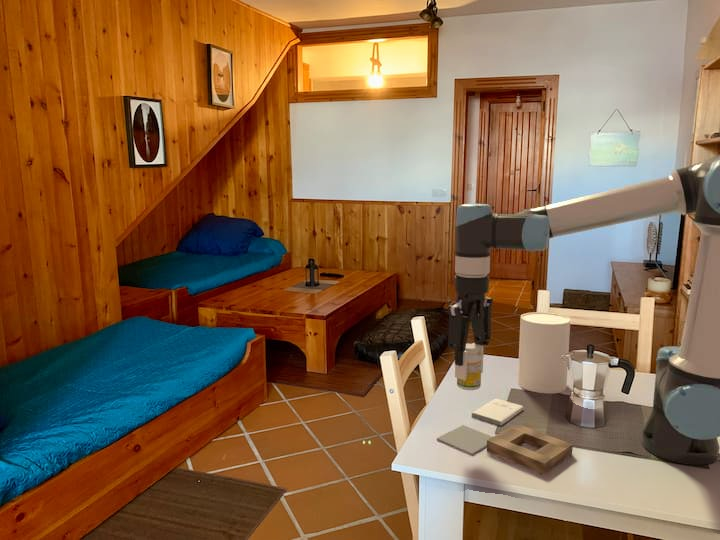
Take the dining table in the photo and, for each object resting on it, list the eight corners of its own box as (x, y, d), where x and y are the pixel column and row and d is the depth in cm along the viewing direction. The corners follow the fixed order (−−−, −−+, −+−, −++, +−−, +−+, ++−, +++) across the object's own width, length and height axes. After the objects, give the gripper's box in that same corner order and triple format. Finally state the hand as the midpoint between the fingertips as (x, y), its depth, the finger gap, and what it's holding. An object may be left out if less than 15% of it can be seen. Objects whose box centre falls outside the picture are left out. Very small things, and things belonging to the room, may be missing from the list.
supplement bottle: (481, 391, 126) (483, 350, 124) (457, 390, 126) (458, 349, 125) (479, 382, 131) (480, 342, 130) (455, 381, 132) (456, 342, 130)
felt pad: (498, 440, 131) (498, 438, 131) (472, 455, 124) (472, 453, 124) (462, 426, 138) (463, 425, 138) (436, 439, 131) (436, 438, 131)
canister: (573, 393, 158) (577, 324, 155) (524, 393, 158) (527, 324, 155) (557, 376, 171) (561, 312, 168) (512, 376, 172) (515, 312, 168)
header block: (572, 454, 124) (572, 444, 124) (543, 474, 116) (544, 463, 116) (516, 433, 134) (516, 423, 134) (486, 450, 126) (486, 440, 126)
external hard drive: (471, 418, 144) (495, 403, 153) (500, 427, 138) (523, 411, 148) (471, 412, 144) (495, 397, 153) (501, 421, 138) (523, 405, 147)
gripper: (482, 267, 133) (479, 361, 137) (431, 277, 121) (430, 380, 125) (509, 271, 128) (505, 369, 132) (459, 282, 115) (457, 390, 120)
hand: (468, 374), depth 128 cm, fingers closed on supplement bottle, 5 cm apart
